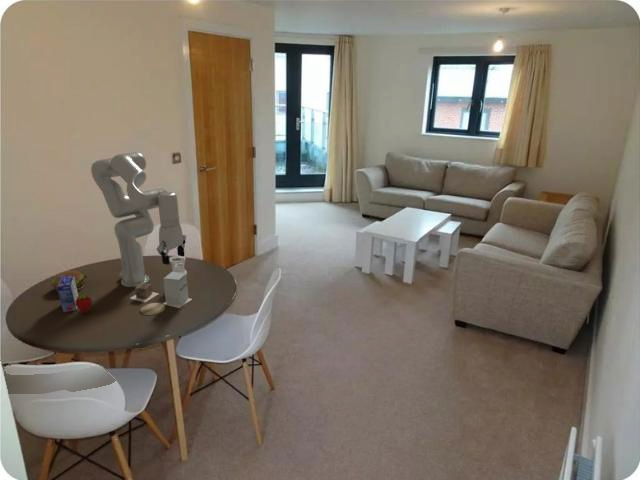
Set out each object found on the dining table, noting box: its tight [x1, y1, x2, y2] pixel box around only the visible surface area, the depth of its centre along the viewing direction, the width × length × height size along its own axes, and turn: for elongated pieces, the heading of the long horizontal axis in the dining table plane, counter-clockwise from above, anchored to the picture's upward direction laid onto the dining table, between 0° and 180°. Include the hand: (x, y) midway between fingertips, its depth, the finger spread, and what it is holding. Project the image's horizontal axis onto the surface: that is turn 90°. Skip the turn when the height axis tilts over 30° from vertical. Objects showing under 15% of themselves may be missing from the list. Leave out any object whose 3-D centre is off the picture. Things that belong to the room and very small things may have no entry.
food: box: [51, 270, 87, 292], centre depth 203 cm, size 14×14×8 cm
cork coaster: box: [139, 302, 166, 316], centre depth 187 cm, size 10×10×1 cm
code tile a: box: [162, 297, 193, 309], centre depth 194 cm, size 9×9×1 cm
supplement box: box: [162, 271, 189, 306], centre depth 191 cm, size 7×7×13 cm
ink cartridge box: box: [57, 275, 79, 313], centre depth 186 cm, size 10×6×14 cm, turn 22°
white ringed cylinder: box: [169, 255, 188, 276], centre depth 207 cm, size 7×7×15 cm
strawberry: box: [75, 292, 92, 314], centre depth 181 cm, size 6×8×10 cm
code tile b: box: [129, 291, 160, 303], centre depth 198 cm, size 9×9×1 cm
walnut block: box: [134, 283, 153, 299], centre depth 197 cm, size 5×5×5 cm
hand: (173, 259), depth 187 cm, fingers open, 9 cm apart
